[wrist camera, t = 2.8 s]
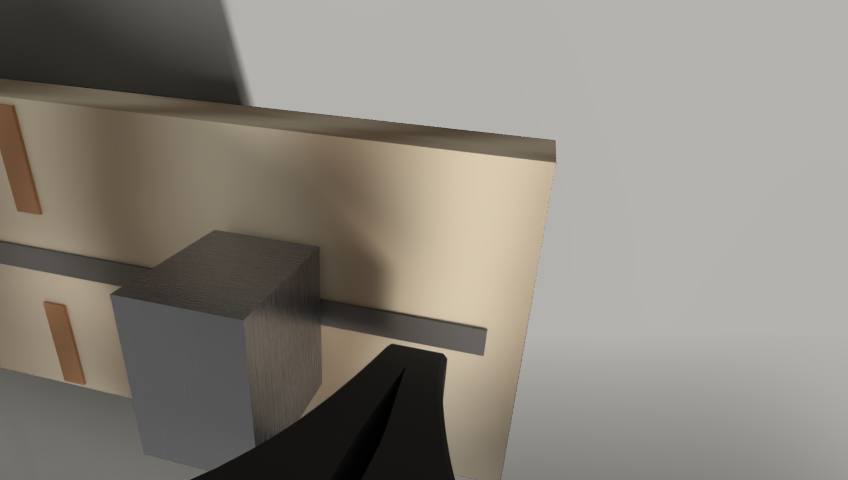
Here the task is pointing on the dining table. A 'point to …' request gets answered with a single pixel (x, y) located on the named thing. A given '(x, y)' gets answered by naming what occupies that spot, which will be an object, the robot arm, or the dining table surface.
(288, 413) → the fader tab
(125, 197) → the board
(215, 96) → the dining table surface
